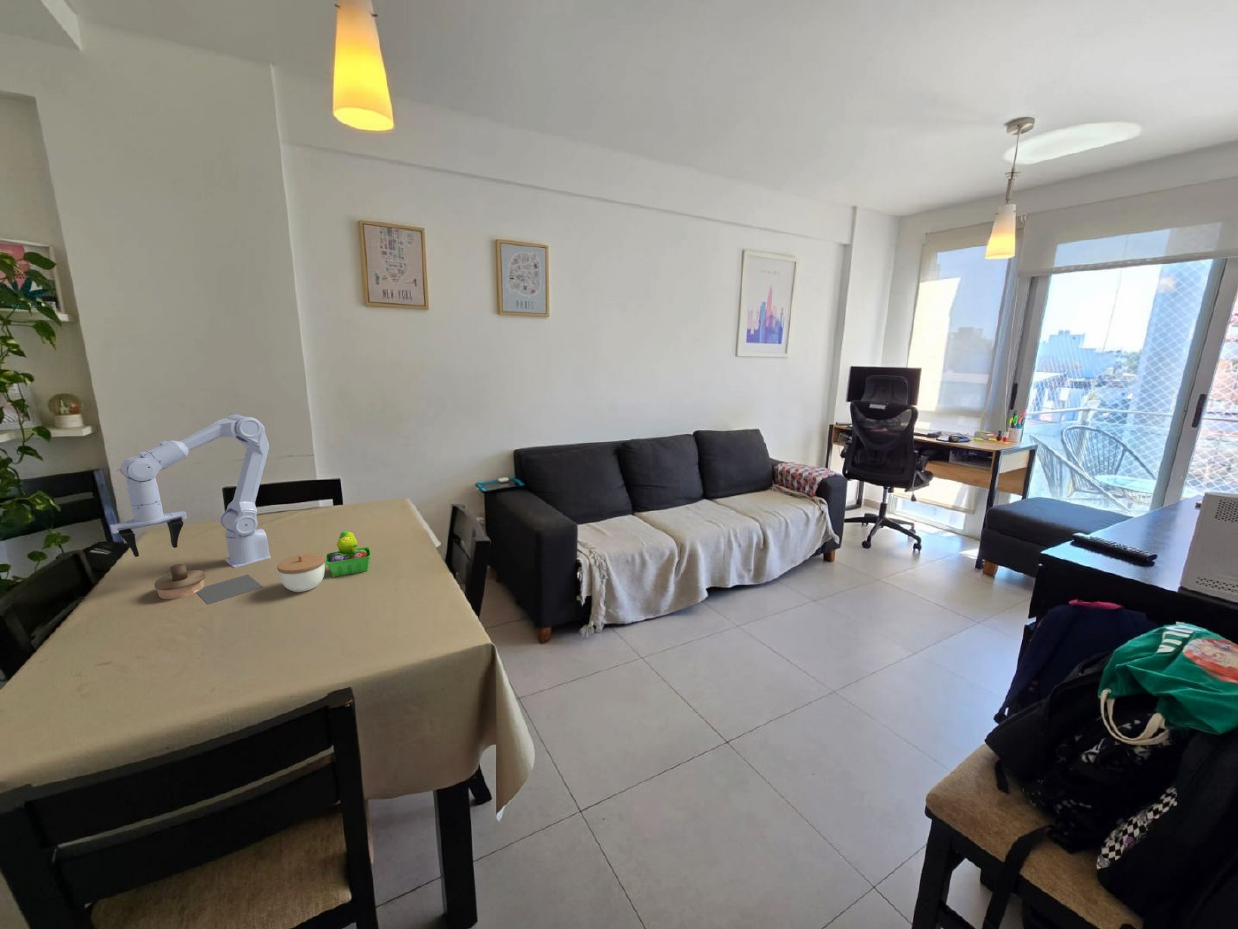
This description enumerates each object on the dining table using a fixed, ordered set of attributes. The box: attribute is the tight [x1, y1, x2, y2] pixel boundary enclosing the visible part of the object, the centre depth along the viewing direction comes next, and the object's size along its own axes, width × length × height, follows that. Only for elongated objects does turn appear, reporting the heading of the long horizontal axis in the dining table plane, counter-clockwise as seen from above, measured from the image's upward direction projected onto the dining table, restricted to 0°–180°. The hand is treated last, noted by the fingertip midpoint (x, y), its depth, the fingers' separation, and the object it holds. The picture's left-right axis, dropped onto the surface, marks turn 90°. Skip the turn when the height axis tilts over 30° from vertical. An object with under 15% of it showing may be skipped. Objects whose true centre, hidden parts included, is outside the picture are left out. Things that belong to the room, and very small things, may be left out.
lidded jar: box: [276, 553, 326, 593], centre depth 133 cm, size 11×11×9 cm
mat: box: [195, 573, 264, 605], centre depth 132 cm, size 12×12×1 cm
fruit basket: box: [325, 530, 372, 578], centre depth 144 cm, size 11×9×11 cm
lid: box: [153, 563, 206, 591], centre depth 129 cm, size 10×10×4 cm
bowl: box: [156, 578, 205, 600], centre depth 130 cm, size 9×9×3 cm
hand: (156, 551), depth 131 cm, fingers open, 7 cm apart
